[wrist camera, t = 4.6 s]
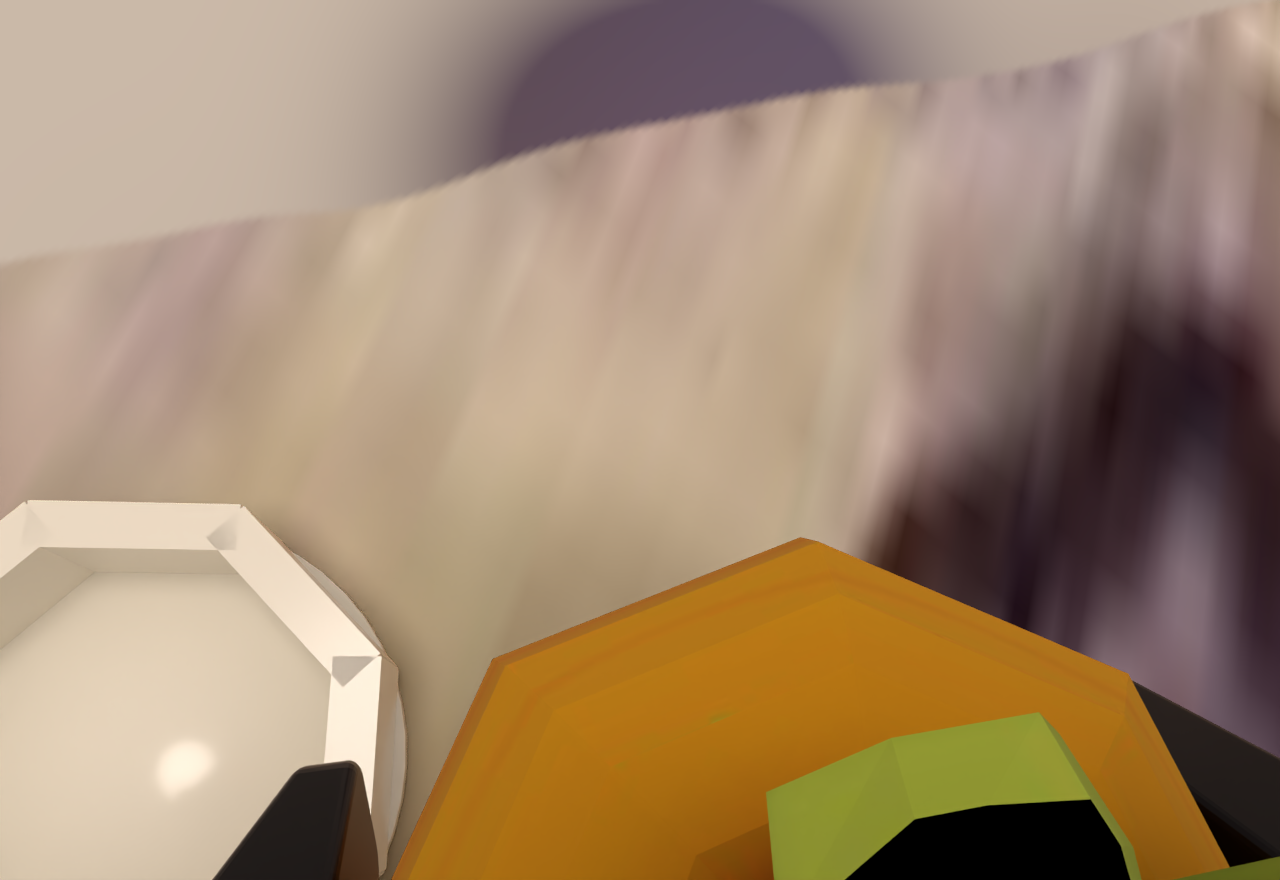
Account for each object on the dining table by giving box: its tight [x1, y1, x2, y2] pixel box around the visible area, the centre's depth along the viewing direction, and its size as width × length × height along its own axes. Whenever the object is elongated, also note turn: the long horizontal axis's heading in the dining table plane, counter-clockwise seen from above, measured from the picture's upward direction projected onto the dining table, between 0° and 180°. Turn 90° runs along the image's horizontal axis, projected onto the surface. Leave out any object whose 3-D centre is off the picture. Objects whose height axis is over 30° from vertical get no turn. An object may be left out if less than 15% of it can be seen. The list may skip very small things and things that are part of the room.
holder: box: [0, 500, 407, 880], centre depth 19 cm, size 9×9×3 cm
